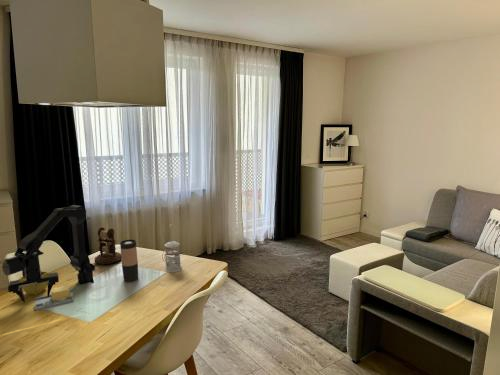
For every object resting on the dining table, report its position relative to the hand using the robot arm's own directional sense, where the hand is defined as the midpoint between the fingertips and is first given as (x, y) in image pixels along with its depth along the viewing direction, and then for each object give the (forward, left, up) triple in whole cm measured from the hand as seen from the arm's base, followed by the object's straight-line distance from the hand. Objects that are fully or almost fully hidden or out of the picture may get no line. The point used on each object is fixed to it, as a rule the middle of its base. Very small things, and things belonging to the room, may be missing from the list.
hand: (36, 299), depth 154 cm
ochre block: (-9, 0, -1) cm, 9 cm away
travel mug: (-41, -3, -2) cm, 41 cm away
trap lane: (-7, +2, -2) cm, 7 cm away
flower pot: (0, -12, -2) cm, 13 cm away
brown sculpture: (-35, -35, -2) cm, 50 cm away
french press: (-63, -4, -2) cm, 63 cm away
